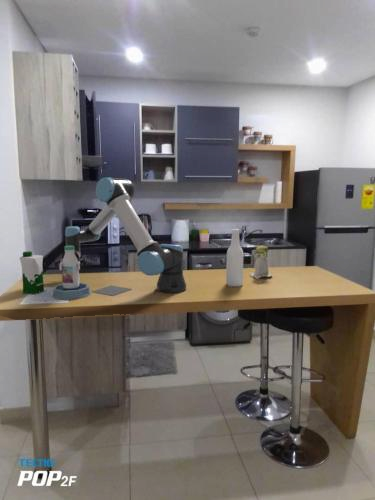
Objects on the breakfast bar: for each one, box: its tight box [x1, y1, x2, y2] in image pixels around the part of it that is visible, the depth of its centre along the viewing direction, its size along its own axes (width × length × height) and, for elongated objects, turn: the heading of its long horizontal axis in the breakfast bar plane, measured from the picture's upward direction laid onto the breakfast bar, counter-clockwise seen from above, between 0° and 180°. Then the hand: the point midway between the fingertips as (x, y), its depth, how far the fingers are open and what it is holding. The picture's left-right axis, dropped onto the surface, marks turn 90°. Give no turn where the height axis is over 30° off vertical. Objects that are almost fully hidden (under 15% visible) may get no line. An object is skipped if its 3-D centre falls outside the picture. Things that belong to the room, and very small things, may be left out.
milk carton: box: [19, 251, 45, 295], centre depth 176 cm, size 9×9×20 cm
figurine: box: [249, 245, 273, 280], centre depth 211 cm, size 12×13×18 cm
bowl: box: [52, 281, 92, 301], centre depth 174 cm, size 18×18×4 cm
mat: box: [91, 285, 132, 297], centre depth 181 cm, size 14×14×1 cm
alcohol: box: [225, 228, 244, 287], centre depth 191 cm, size 9×9×30 cm
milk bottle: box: [61, 245, 80, 289], centre depth 172 cm, size 8×8×20 cm
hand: (69, 267), depth 167 cm, fingers closed on milk bottle, 7 cm apart
